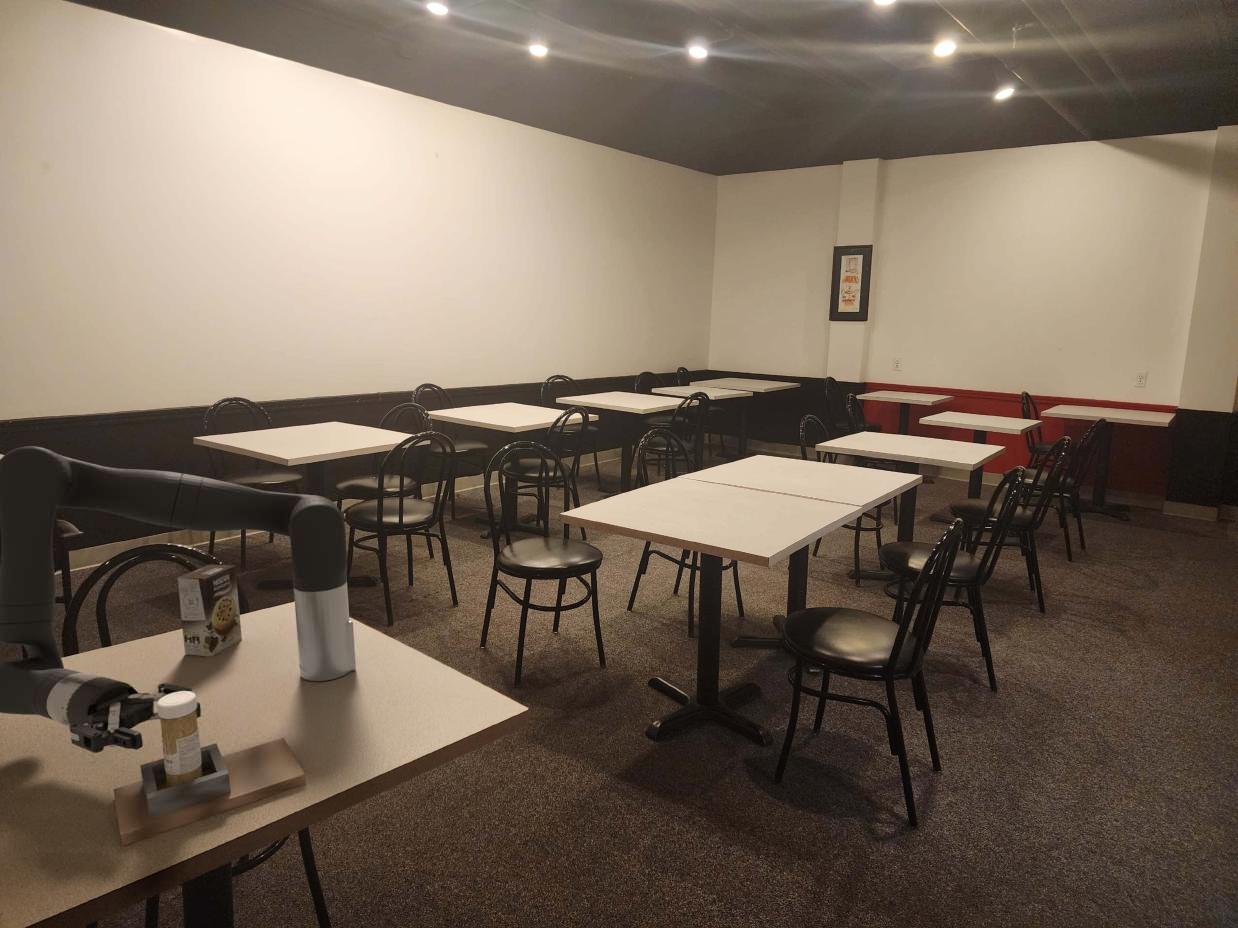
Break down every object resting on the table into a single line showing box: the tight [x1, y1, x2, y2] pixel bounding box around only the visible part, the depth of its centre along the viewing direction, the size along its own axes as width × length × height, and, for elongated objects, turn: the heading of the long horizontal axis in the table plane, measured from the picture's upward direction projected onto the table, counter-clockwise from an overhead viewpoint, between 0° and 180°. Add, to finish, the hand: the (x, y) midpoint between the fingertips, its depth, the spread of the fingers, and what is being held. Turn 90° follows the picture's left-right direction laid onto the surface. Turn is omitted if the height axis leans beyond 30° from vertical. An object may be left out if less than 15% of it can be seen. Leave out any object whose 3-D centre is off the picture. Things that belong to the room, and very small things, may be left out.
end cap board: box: [113, 737, 307, 847], centre depth 105 cm, size 22×12×4 cm, turn 127°
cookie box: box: [177, 564, 243, 658], centre depth 152 cm, size 9×6×16 cm
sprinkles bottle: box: [156, 691, 202, 788], centre depth 102 cm, size 5×5×13 cm
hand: (170, 725), depth 103 cm, fingers open, 8 cm apart
